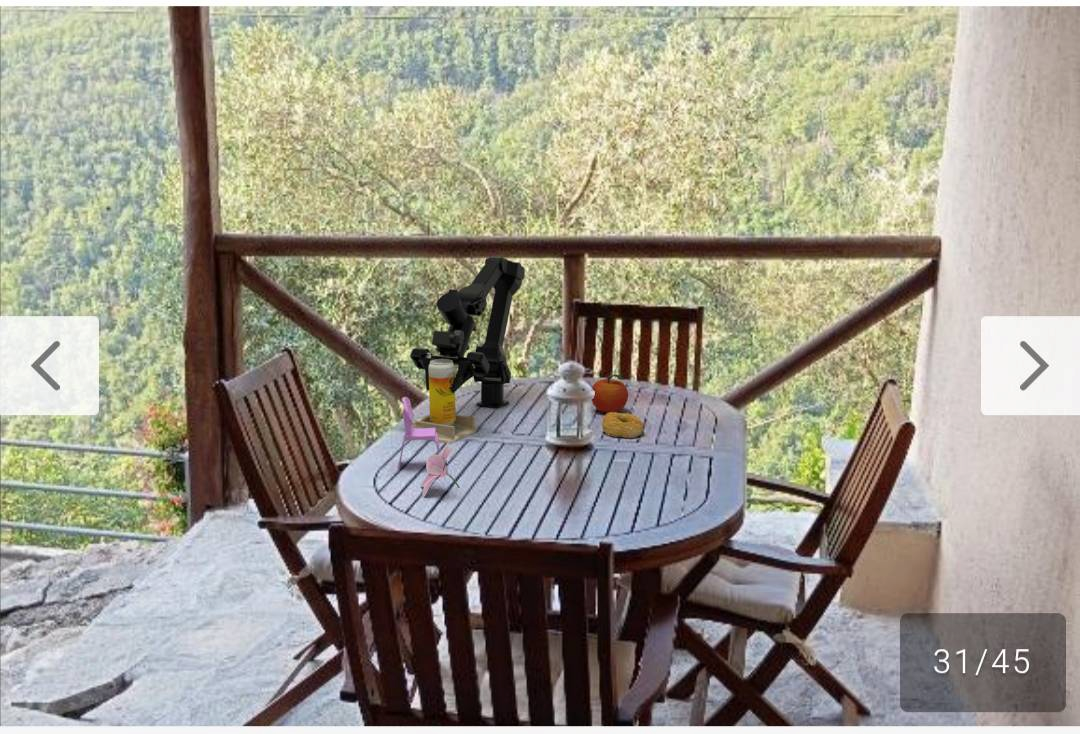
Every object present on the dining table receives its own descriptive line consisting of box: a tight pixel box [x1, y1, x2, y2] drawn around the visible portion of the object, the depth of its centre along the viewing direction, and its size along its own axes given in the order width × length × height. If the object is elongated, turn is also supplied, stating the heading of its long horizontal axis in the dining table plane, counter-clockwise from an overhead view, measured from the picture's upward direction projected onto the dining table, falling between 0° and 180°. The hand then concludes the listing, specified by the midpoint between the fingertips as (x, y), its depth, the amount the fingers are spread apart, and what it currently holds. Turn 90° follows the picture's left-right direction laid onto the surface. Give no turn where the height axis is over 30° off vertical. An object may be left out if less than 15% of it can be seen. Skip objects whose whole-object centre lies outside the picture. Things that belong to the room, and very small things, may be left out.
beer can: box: [428, 359, 457, 425], centre depth 253 cm, size 6×6×15 cm
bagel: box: [601, 412, 645, 439], centre depth 255 cm, size 10×11×5 cm
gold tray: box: [411, 414, 478, 444], centre depth 254 cm, size 12×12×4 cm
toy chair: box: [397, 396, 440, 471], centre depth 229 cm, size 8×9×15 cm
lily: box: [420, 442, 460, 499], centre depth 214 cm, size 12×12×10 cm
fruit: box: [591, 373, 629, 414], centre depth 274 cm, size 10×10×10 cm
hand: (439, 391), depth 251 cm, fingers closed on beer can, 6 cm apart
